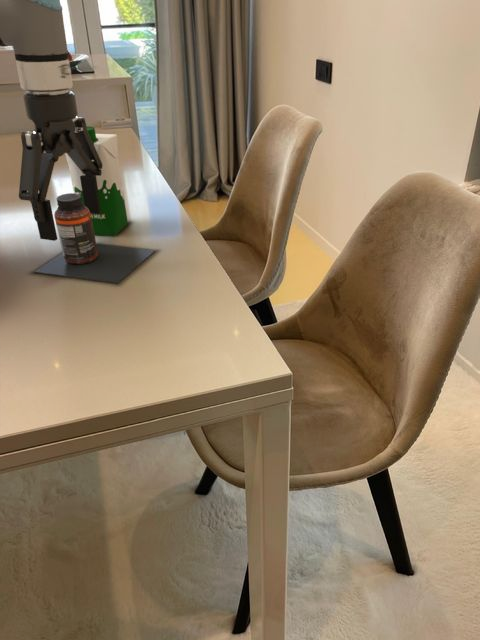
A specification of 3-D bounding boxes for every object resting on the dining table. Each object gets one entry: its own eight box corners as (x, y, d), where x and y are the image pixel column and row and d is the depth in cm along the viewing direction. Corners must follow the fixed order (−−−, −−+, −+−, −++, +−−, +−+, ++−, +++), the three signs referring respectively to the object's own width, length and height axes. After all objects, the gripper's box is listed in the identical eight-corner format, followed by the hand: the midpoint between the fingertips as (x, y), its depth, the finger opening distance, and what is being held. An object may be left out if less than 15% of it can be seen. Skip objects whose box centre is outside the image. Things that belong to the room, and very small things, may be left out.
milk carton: (75, 237, 110) (54, 130, 99) (95, 221, 118) (76, 120, 107) (117, 239, 109) (100, 132, 98) (134, 223, 116) (120, 121, 106)
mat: (35, 275, 96) (34, 271, 96) (79, 244, 107) (79, 241, 107) (118, 286, 92) (117, 283, 92) (155, 253, 103) (155, 250, 103)
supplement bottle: (81, 249, 103) (69, 189, 97) (105, 256, 101) (94, 194, 95) (57, 261, 99) (42, 198, 93) (81, 268, 97) (68, 204, 90)
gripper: (16, 106, 74) (48, 255, 86) (111, 81, 94) (126, 205, 106) (-31, 102, 76) (6, 249, 87) (72, 79, 96) (91, 200, 107)
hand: (72, 225), depth 96 cm, fingers open, 13 cm apart
